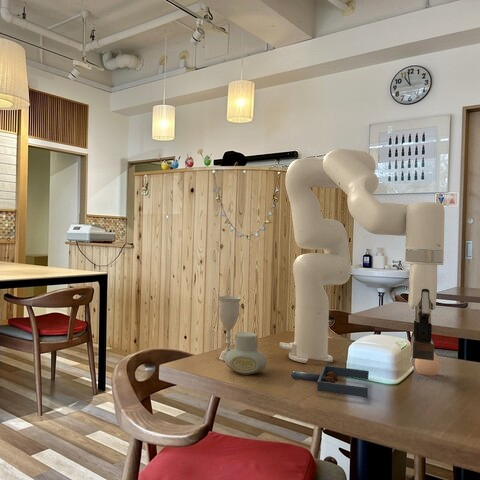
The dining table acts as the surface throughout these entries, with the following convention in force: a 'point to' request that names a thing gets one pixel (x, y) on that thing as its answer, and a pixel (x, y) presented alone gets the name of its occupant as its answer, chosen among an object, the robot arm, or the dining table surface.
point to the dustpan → (334, 386)
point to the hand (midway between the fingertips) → (422, 339)
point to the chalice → (228, 317)
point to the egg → (428, 366)
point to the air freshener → (245, 355)
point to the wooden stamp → (422, 349)
